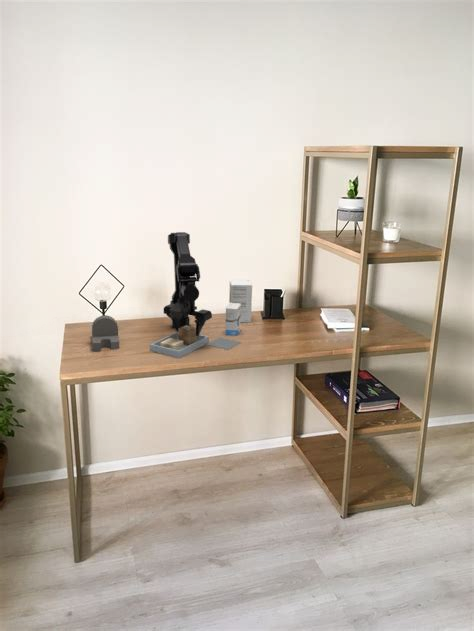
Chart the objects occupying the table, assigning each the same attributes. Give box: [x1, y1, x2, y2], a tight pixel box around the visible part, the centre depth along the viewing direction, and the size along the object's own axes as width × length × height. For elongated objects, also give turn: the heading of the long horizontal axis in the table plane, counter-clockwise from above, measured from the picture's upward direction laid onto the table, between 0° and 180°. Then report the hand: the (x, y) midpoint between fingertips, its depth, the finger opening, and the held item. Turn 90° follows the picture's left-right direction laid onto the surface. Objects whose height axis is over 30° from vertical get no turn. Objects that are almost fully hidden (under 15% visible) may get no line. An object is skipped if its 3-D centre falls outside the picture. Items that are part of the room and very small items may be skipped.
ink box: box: [225, 303, 241, 336], centre depth 227 cm, size 8×5×12 cm, turn 168°
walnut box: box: [178, 325, 197, 346], centre depth 214 cm, size 5×5×6 cm
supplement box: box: [228, 279, 253, 323], centre depth 245 cm, size 10×9×17 cm
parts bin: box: [149, 331, 210, 359], centre depth 210 cm, size 13×19×3 cm
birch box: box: [160, 338, 183, 350], centre depth 206 cm, size 6×6×4 cm
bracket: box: [91, 315, 120, 353], centre depth 213 cm, size 10×18×11 cm, turn 14°
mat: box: [205, 336, 242, 351], centre depth 215 cm, size 10×10×1 cm
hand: (187, 333), depth 214 cm, fingers open, 9 cm apart
